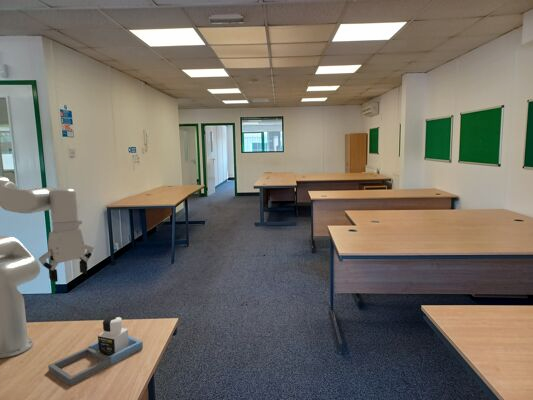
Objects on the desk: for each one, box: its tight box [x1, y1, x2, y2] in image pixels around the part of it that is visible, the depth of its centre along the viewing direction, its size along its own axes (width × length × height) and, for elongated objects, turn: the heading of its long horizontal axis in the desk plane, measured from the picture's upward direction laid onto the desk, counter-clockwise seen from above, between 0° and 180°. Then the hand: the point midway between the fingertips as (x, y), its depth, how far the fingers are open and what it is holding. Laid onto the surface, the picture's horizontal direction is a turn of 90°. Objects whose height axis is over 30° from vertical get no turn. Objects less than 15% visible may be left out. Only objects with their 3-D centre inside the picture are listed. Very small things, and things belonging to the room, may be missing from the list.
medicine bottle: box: [97, 315, 130, 357], centre depth 127 cm, size 7×7×12 cm
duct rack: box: [47, 334, 144, 386], centre depth 123 cm, size 13×26×2 cm, turn 145°
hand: (69, 276), depth 121 cm, fingers open, 9 cm apart
